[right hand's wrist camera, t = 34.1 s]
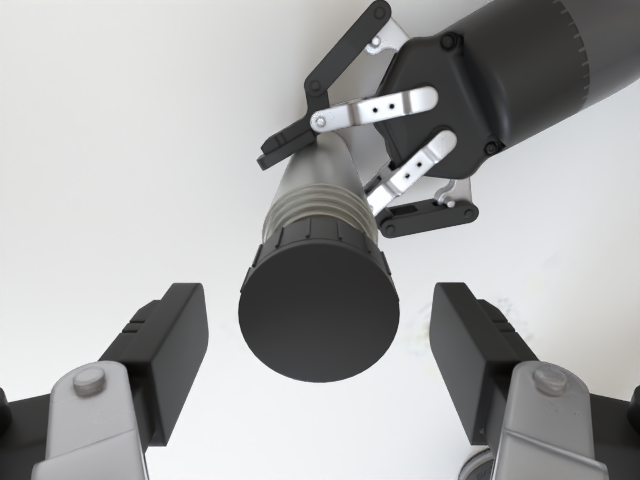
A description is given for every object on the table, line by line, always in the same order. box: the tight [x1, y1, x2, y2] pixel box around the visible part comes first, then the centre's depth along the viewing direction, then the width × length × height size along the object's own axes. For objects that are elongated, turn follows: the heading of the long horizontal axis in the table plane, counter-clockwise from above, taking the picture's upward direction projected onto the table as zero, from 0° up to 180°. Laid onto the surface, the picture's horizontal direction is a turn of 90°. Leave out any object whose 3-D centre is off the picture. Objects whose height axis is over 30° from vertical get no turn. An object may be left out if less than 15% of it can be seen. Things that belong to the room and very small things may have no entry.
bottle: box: [262, 131, 378, 246], centre depth 21 cm, size 4×4×22 cm
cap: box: [238, 218, 400, 383], centre depth 11 cm, size 4×4×2 cm
